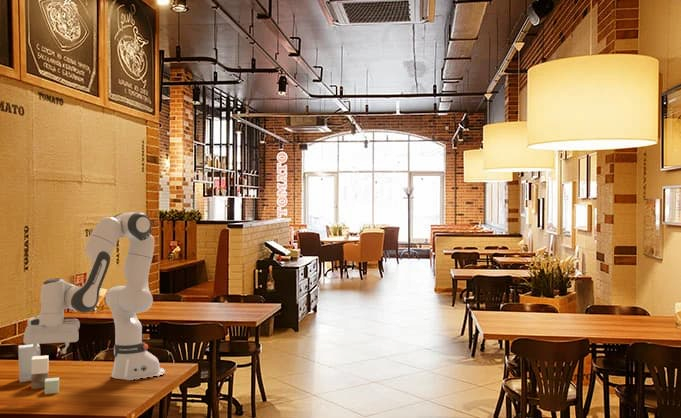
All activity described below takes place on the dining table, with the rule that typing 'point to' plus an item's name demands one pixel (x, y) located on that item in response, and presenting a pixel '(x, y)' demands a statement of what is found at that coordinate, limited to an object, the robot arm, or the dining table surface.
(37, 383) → the block bottom
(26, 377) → the skincare box
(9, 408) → the dining table surface
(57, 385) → the block small
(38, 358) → the block top
